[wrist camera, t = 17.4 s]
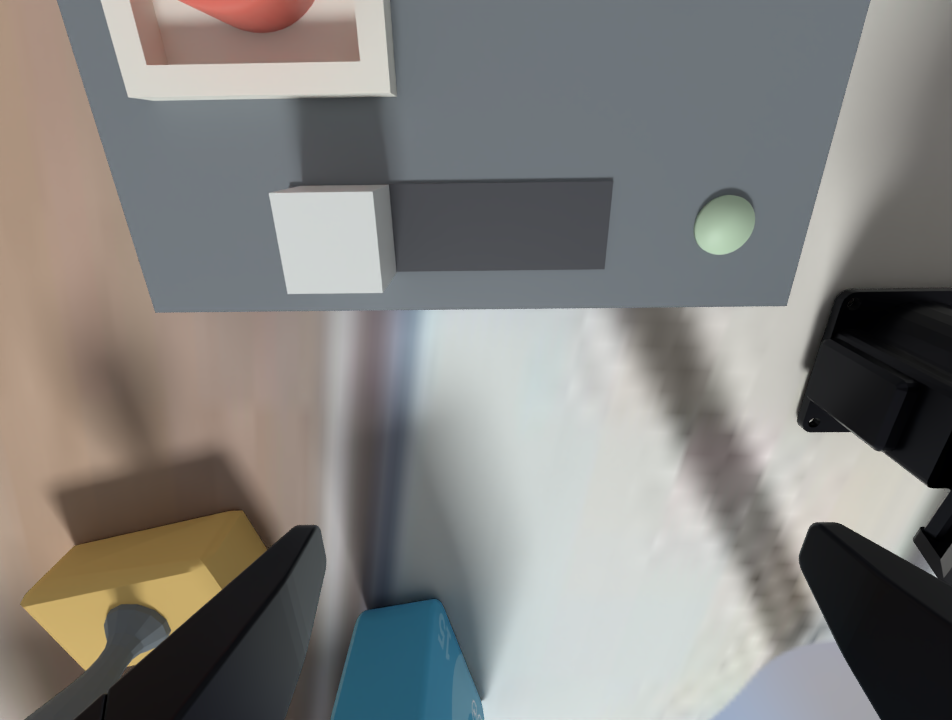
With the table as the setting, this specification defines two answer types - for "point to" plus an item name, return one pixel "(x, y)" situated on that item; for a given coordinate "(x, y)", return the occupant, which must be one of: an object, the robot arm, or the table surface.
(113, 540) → the rubber stamp
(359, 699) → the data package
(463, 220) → the breaker panel
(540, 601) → the table surface
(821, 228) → the table surface
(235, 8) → the cap
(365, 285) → the block
